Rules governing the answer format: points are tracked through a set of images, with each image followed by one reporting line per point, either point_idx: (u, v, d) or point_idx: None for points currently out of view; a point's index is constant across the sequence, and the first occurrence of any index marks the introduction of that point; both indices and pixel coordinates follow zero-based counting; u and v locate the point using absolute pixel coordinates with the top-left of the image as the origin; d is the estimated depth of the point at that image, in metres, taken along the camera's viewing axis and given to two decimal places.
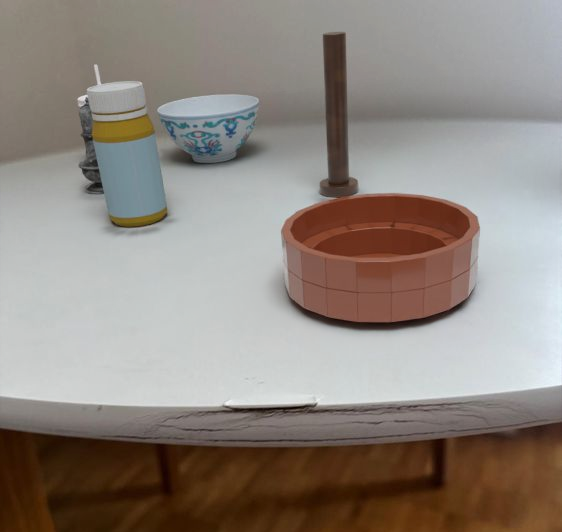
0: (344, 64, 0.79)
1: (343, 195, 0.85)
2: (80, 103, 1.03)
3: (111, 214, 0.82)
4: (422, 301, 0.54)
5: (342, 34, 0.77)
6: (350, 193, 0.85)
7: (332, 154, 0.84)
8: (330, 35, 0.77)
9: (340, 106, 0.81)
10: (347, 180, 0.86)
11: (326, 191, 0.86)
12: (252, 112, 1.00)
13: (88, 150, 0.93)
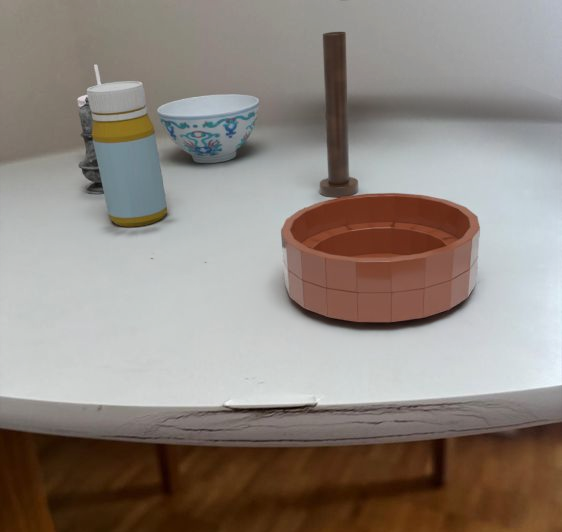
0: (344, 64, 0.79)
1: (343, 195, 0.85)
2: (80, 103, 1.03)
3: (111, 214, 0.82)
4: (422, 301, 0.54)
5: (342, 34, 0.77)
6: (350, 193, 0.85)
7: (332, 154, 0.84)
8: (330, 35, 0.77)
9: (340, 106, 0.81)
10: (347, 180, 0.86)
11: (326, 191, 0.86)
12: (252, 112, 1.00)
13: (88, 150, 0.93)
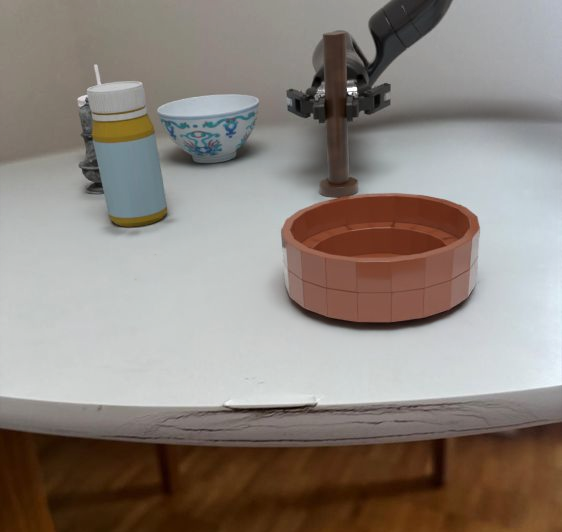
0: (344, 64, 0.79)
1: (343, 195, 0.85)
2: (80, 103, 1.03)
3: (111, 214, 0.82)
4: (422, 301, 0.54)
5: (342, 34, 0.77)
6: (350, 193, 0.85)
7: (332, 154, 0.84)
8: (330, 35, 0.77)
9: (340, 106, 0.81)
10: (347, 180, 0.86)
11: (326, 191, 0.86)
12: (252, 112, 1.00)
13: (88, 150, 0.93)
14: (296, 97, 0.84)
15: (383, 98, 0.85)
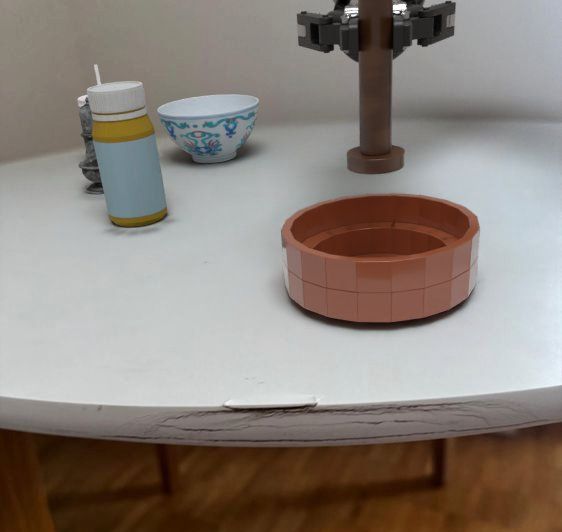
0: None
1: (383, 171, 0.56)
2: (80, 103, 1.03)
3: (111, 214, 0.82)
4: (422, 301, 0.54)
5: None
6: (394, 168, 0.56)
7: (367, 108, 0.54)
8: None
9: (382, 30, 0.51)
10: (389, 149, 0.56)
11: (357, 165, 0.56)
12: (252, 112, 1.00)
13: (88, 150, 0.93)
14: (313, 20, 0.55)
15: (445, 23, 0.56)
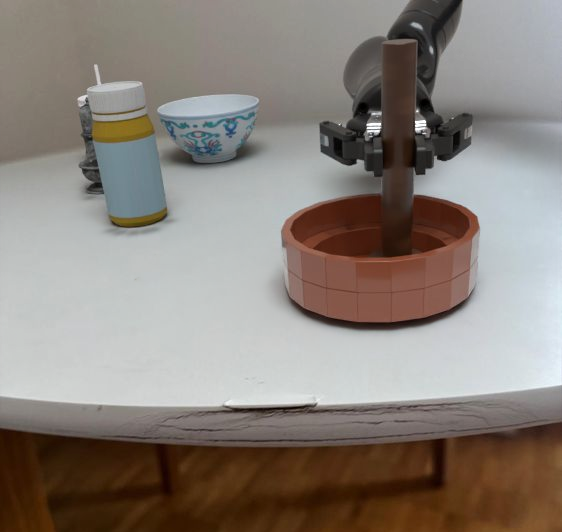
0: (414, 88, 0.52)
1: None
2: (80, 103, 1.03)
3: (111, 214, 0.82)
4: (422, 301, 0.54)
5: (413, 43, 0.50)
6: None
7: (390, 220, 0.57)
8: (395, 45, 0.50)
9: (405, 152, 0.54)
10: None
11: None
12: (252, 112, 1.00)
13: (88, 150, 0.93)
14: (336, 135, 0.57)
15: (463, 136, 0.58)
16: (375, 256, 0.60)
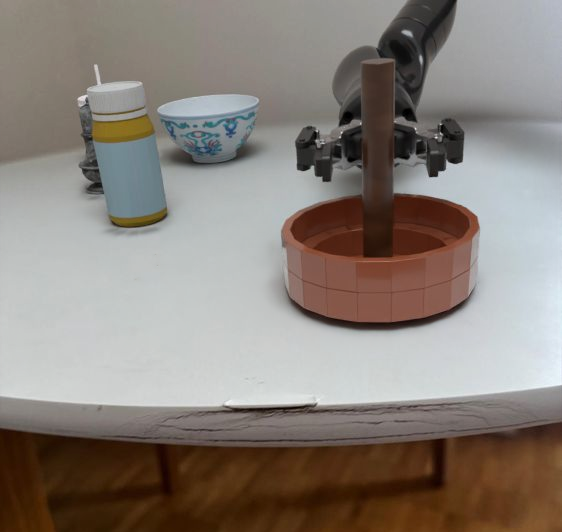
0: (392, 106, 0.54)
1: None
2: (80, 103, 1.03)
3: (111, 214, 0.82)
4: (422, 301, 0.54)
5: (390, 63, 0.52)
6: None
7: (371, 231, 0.59)
8: (373, 64, 0.52)
9: (384, 166, 0.56)
10: None
11: None
12: (252, 112, 1.00)
13: (88, 150, 0.93)
14: None
15: None
16: None
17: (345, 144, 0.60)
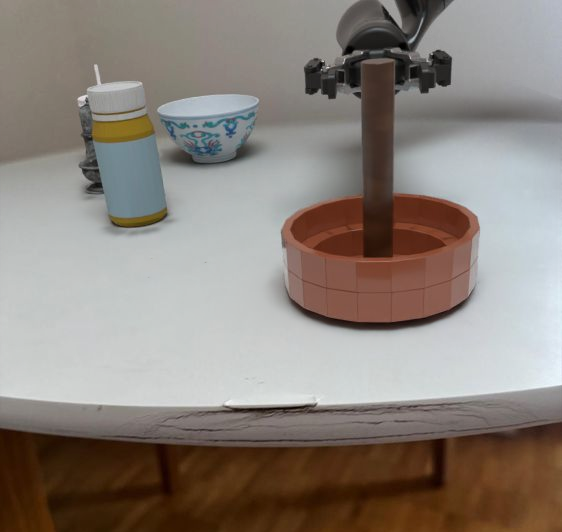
0: (392, 106, 0.54)
1: None
2: (80, 103, 1.03)
3: (111, 214, 0.82)
4: (422, 301, 0.54)
5: (390, 63, 0.52)
6: None
7: (371, 231, 0.59)
8: (373, 64, 0.52)
9: (384, 166, 0.56)
10: None
11: None
12: (252, 112, 1.00)
13: (88, 150, 0.93)
14: None
15: None
16: None
17: (348, 70, 0.69)
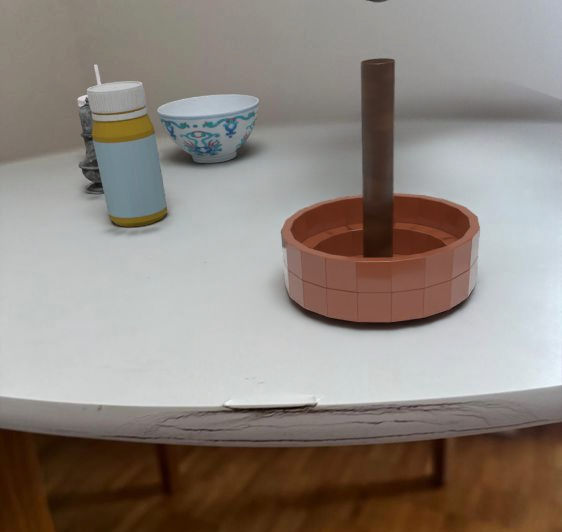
0: (392, 106, 0.54)
1: None
2: (80, 103, 1.03)
3: (111, 214, 0.82)
4: (422, 301, 0.54)
5: (390, 63, 0.52)
6: None
7: (371, 231, 0.59)
8: (373, 64, 0.52)
9: (384, 166, 0.56)
10: None
11: None
12: (252, 112, 1.00)
13: (88, 150, 0.93)
14: None
15: None
16: None
17: None
